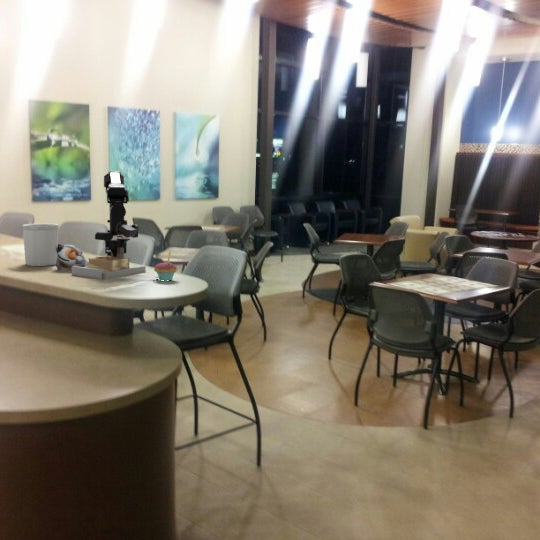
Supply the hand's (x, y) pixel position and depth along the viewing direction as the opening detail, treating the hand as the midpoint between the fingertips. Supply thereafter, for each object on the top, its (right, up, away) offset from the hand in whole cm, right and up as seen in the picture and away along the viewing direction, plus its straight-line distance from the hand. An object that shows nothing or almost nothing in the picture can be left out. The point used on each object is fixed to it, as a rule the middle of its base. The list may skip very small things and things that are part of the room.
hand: (117, 256), depth 236 cm
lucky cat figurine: (-20, -6, +8) cm, 23 cm away
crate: (-2, -7, -3) cm, 8 cm away
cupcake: (+21, -10, -8) cm, 24 cm away
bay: (-2, -8, -3) cm, 9 cm away
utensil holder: (-39, -3, +23) cm, 46 cm away
